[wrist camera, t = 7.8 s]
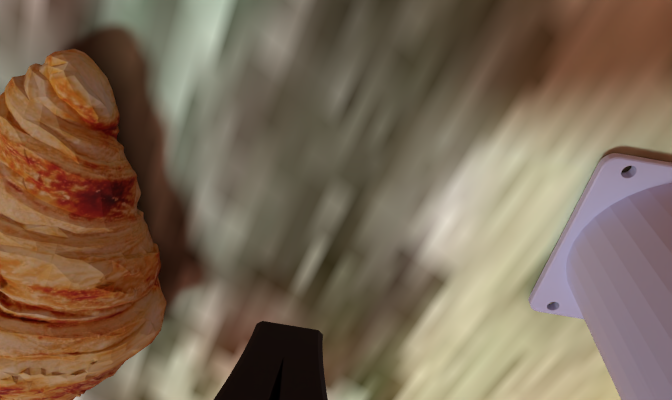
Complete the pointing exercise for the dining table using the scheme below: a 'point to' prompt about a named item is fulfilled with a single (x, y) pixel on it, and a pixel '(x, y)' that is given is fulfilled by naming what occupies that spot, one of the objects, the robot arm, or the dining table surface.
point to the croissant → (69, 236)
